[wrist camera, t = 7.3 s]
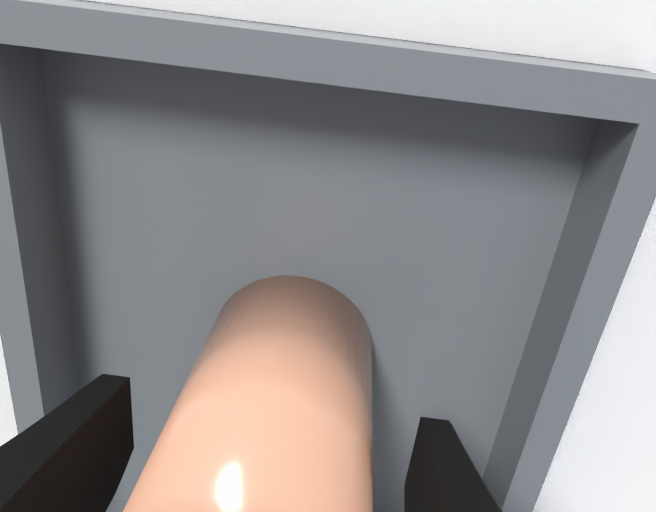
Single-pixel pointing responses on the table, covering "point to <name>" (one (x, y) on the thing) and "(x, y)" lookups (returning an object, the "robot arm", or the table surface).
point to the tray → (315, 216)
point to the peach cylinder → (271, 410)
